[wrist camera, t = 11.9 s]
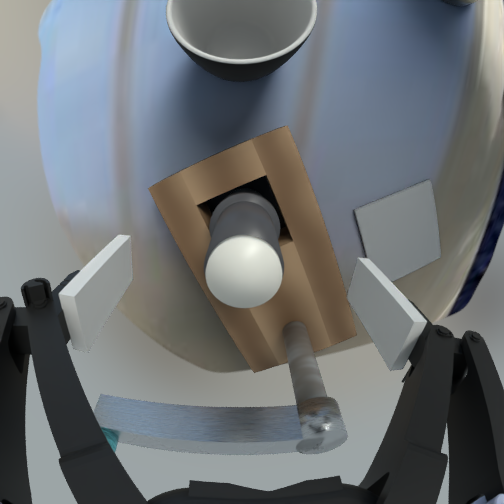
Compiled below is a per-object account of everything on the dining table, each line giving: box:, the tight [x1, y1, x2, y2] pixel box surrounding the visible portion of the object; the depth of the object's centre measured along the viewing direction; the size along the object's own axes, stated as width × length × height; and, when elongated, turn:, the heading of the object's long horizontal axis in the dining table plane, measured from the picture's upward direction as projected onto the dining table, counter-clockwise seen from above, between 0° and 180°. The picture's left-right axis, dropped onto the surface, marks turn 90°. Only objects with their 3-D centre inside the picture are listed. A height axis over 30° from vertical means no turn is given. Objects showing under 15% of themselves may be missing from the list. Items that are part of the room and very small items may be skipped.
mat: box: [354, 179, 441, 282], centre depth 28 cm, size 10×10×1 cm
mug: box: [166, 0, 317, 82], centre depth 15 cm, size 12×9×10 cm
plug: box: [204, 188, 284, 308], centre depth 21 cm, size 5×5×13 cm
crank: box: [93, 394, 348, 455], centre depth 16 cm, size 18×4×4 cm, turn 89°
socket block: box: [148, 126, 357, 404], centre depth 22 cm, size 12×22×14 cm, turn 23°
